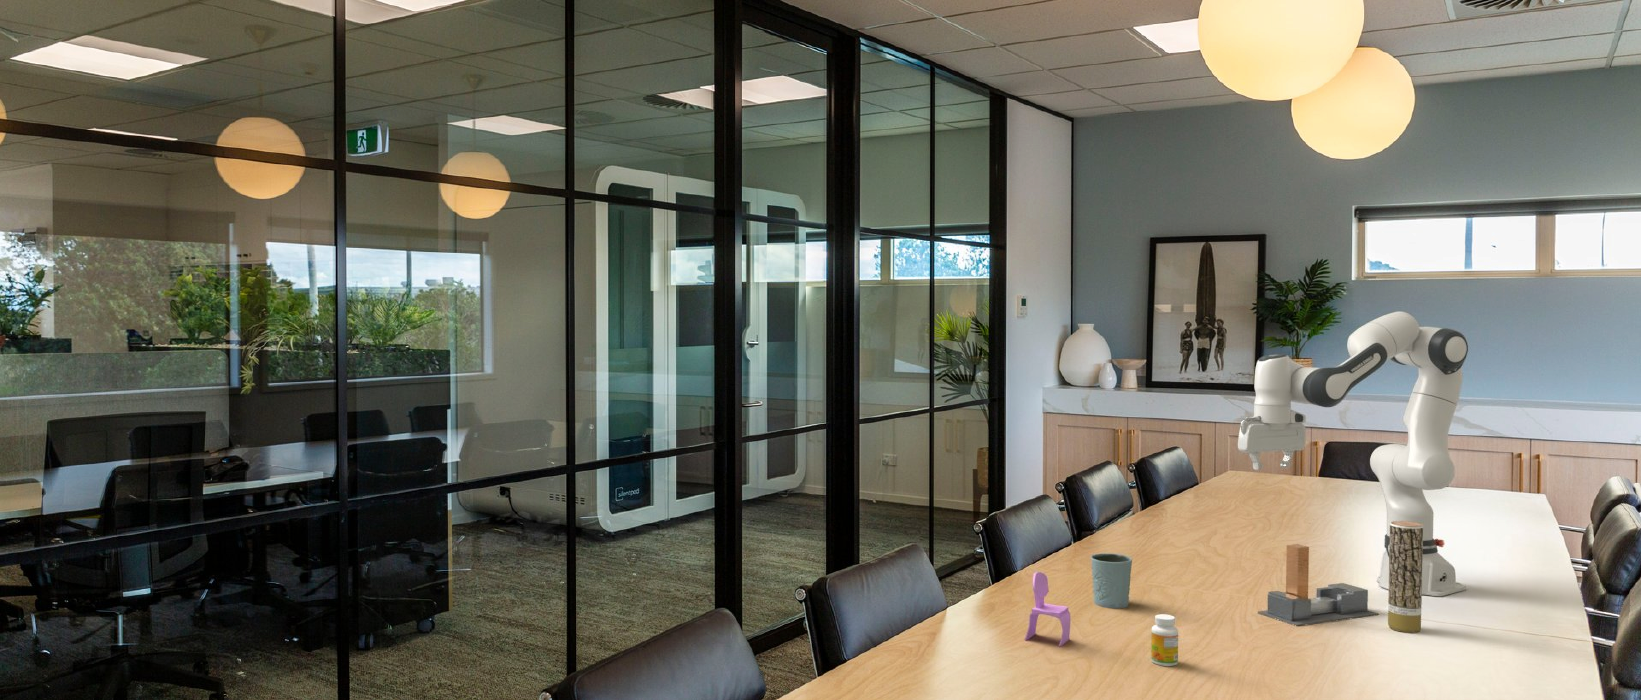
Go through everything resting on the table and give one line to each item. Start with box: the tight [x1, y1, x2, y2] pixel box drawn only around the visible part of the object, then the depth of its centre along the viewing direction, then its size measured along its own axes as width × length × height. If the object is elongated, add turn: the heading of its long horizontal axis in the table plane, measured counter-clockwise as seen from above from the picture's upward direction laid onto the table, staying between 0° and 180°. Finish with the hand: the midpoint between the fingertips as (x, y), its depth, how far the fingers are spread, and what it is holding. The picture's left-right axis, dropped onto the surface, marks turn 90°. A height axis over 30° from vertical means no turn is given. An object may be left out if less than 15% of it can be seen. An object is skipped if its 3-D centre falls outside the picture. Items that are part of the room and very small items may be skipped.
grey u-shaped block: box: [1315, 582, 1369, 615], centre depth 258 cm, size 9×7×5 cm
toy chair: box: [1024, 571, 1071, 648], centre depth 232 cm, size 8×9×15 cm
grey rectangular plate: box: [1257, 609, 1379, 627], centre depth 255 cm, size 27×12×1 cm, turn 112°
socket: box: [1267, 590, 1311, 622], centre depth 251 cm, size 6×7×5 cm
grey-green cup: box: [1090, 552, 1133, 609], centre depth 263 cm, size 10×10×12 cm
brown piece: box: [1285, 543, 1337, 615], centre depth 253 cm, size 15×4×17 cm, turn 112°
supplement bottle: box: [1150, 613, 1179, 667], centre depth 217 cm, size 5×5×10 cm
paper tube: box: [1387, 521, 1423, 634], centre depth 242 cm, size 7×7×25 cm
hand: (1271, 468), depth 269 cm, fingers open, 8 cm apart
